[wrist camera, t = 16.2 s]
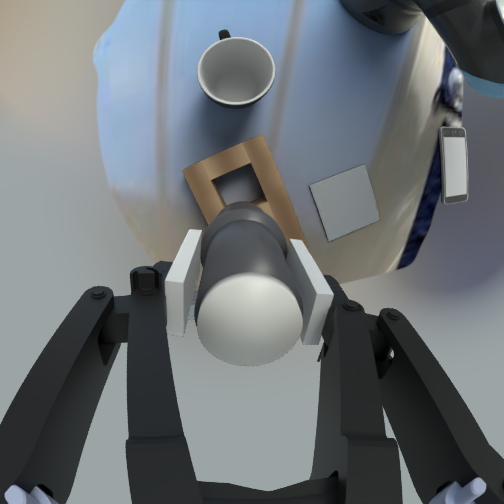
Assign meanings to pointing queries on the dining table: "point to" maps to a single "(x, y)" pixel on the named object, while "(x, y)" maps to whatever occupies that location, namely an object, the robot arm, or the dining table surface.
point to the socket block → (267, 175)
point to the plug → (246, 289)
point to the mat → (345, 202)
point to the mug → (235, 71)
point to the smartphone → (453, 164)
